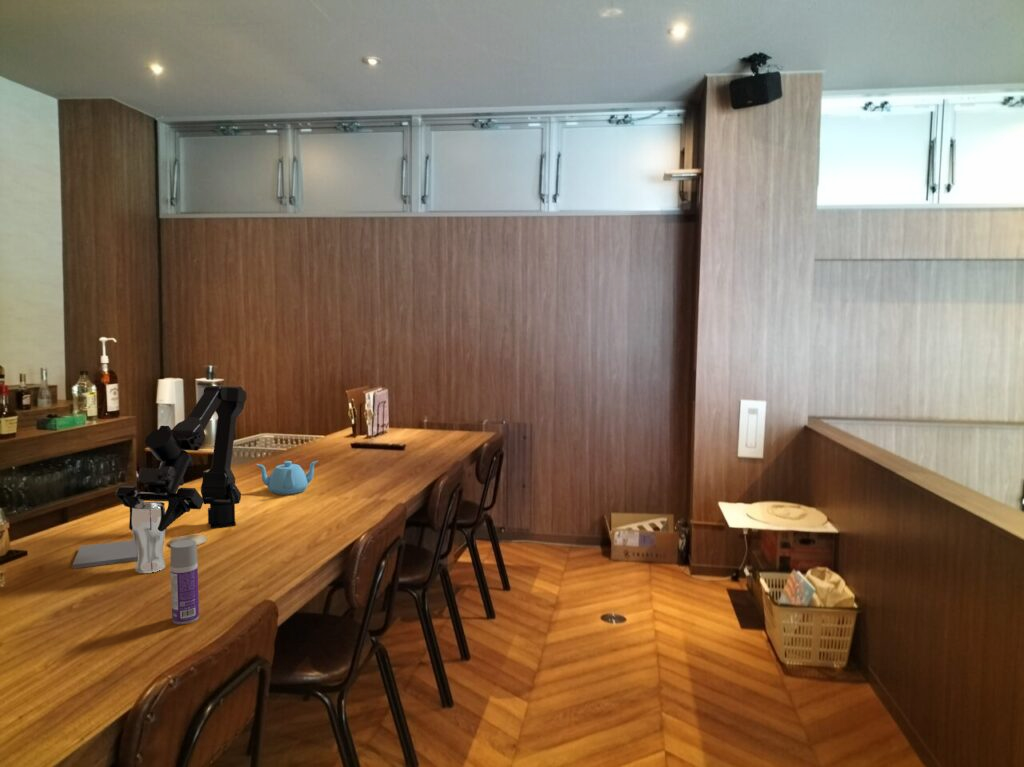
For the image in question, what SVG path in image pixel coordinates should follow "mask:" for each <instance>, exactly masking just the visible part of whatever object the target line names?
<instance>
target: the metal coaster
mask: <svg viewBox="0 0 1024 767" xmlns="http://www.w3.org/2000/svg"><path fill="white" fill-rule="evenodd" d="M182 540H194V541H196V546H197V545H198V546H201V545H203V543H204V544H205V543H207V541H208V538H207V536H206V535H202V534H188V535H187V534H186V535H181V536H177V537H174V538H171V539H169V541H168V546H169V545H170V546H171V544H172V543H174V542H177V541H182ZM170 546H169V547H170ZM198 546H197V547H198Z"/></svg>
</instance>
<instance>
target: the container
mask: <svg viewBox="0 0 1024 767" xmlns="http://www.w3.org/2000/svg"><path fill="white" fill-rule="evenodd" d="M197 547H198V546H196V541H194V540H182V541H177V542H174V543H172V544H171V547H170V591H171V592H170V595H171V598H170V599H171V620H172V623H173V624H175V625H187V624H191V623H194V622H196V621H197V620H199V618H200V611H199V610H200V607H199V606H200V605H199V604H200V603H199V566H198V551H197V550H198V549H197Z"/></svg>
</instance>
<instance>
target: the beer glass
mask: <svg viewBox="0 0 1024 767" xmlns="http://www.w3.org/2000/svg"><path fill="white" fill-rule="evenodd" d="M165 507H166V506H165V503H164V502H163V501H144V503H140V504H136V505H134V506H133V507H132V537H133V540H134V542H135V546H136V551H137V561H136V564H135V572H136V573H137V572H138V574H153V573H152V572H154V573H156V572H157V571H158V572H160V571H163V570H164V569H165V568H166V563H165V559H164V545H165V539H166V538H165V537H166V530H167V528H166V529H165V530H164V531H162V532H161V531H160V530H159V527H160V524H161V522H162V519H163V517H164V515H165V513H166V508H165ZM159 570H160V571H159Z"/></svg>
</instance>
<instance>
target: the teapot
mask: <svg viewBox="0 0 1024 767" xmlns="http://www.w3.org/2000/svg"><path fill="white" fill-rule="evenodd" d="M292 462H293V461H291V460H285V461H283V464H279V465H276V466H275V468H274V469H273V471H272V472H271V474H270V476H268V475H267V469H266V467H265V465H263V464H259V463H256V466H257V467H259V468H260V472H261V480H262V483H263V484H264V485H265V486H267V489H268V490H269V491H270V492H271V494H275V495H280V496H281V495H282V496H284V495H285V496H286V495H295V494H300V493H303V492H304V491H305V490H306V489H307V488H308V487H309V483H310V482H311V483H312V481H313V478H314V475H315V474H314V473H315V472H314V471H315V469H314V468H315V466H316V464H317V463H318V462H319V460H315V461H312V462H311V463H310V465H309V469H308V470H309V471H308V473H307V474H306V472H305V471H304V469H303V468H302V467H301V465H300V464H296V463H292Z"/></svg>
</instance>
